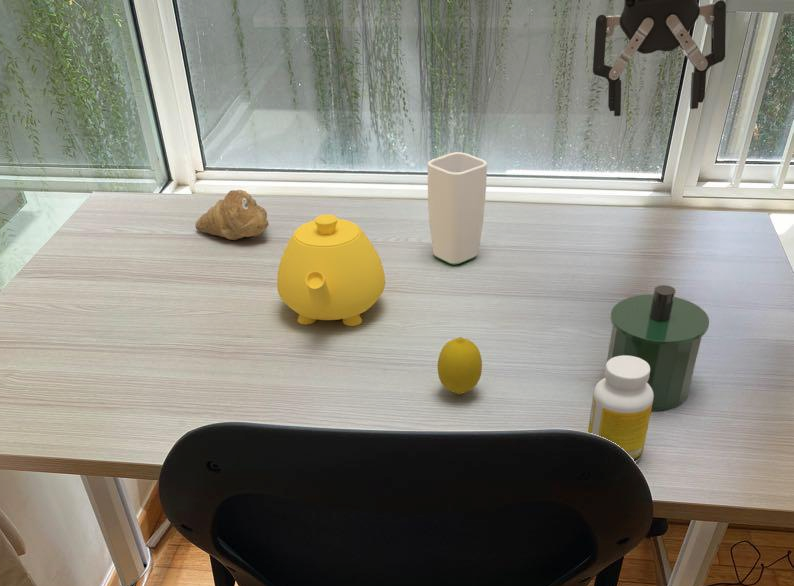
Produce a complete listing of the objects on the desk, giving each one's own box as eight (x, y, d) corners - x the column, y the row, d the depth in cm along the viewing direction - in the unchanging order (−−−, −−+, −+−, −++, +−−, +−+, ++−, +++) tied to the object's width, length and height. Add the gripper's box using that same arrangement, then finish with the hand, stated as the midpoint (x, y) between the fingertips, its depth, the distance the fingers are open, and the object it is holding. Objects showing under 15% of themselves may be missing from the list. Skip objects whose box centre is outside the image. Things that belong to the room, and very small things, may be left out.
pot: (693, 374, 113) (709, 307, 107) (681, 418, 106) (697, 349, 100) (612, 360, 116) (623, 294, 110) (596, 402, 109) (606, 334, 103)
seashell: (210, 256, 153) (187, 252, 146) (197, 209, 152) (174, 203, 144) (280, 233, 149) (260, 228, 141) (267, 185, 148) (247, 177, 140)
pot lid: (712, 310, 107) (721, 275, 104) (700, 356, 100) (709, 320, 97) (619, 296, 111) (625, 262, 108) (600, 340, 103) (606, 304, 100)
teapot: (374, 354, 119) (370, 258, 110) (263, 350, 121) (249, 256, 112) (392, 285, 134) (389, 196, 124) (292, 283, 135) (282, 194, 126)
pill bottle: (649, 467, 99) (668, 380, 91) (593, 472, 99) (607, 385, 91) (631, 434, 104) (648, 348, 96) (578, 439, 104) (590, 353, 96)
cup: (453, 271, 137) (455, 175, 126) (423, 256, 141) (422, 162, 131) (487, 257, 140) (491, 162, 130) (456, 243, 144) (458, 150, 134)
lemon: (461, 377, 114) (463, 322, 109) (489, 395, 111) (492, 339, 106) (428, 391, 112) (428, 336, 107) (456, 411, 109) (457, 354, 103)
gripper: (593, -49, 92) (592, 120, 100) (737, -69, 89) (724, 107, 97) (593, -42, 99) (592, 116, 106) (727, -61, 95) (716, 104, 103)
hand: (655, 112), depth 101 cm, fingers open, 8 cm apart
